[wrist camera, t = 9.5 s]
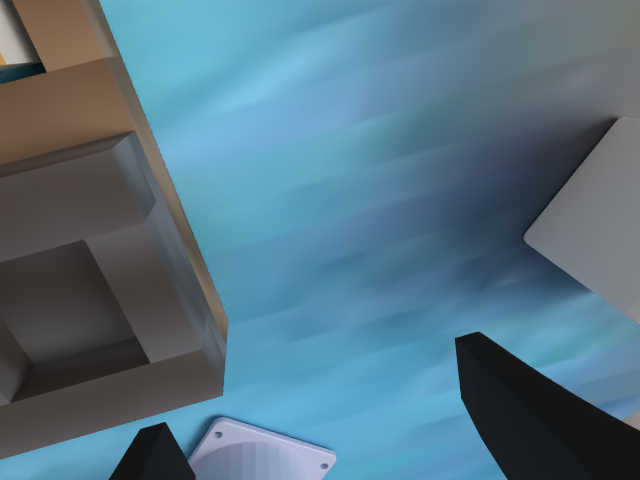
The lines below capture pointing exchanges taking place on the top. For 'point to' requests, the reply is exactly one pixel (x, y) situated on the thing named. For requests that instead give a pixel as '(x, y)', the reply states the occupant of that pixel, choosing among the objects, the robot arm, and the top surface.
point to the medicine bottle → (599, 221)
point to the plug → (14, 40)
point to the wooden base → (93, 248)
